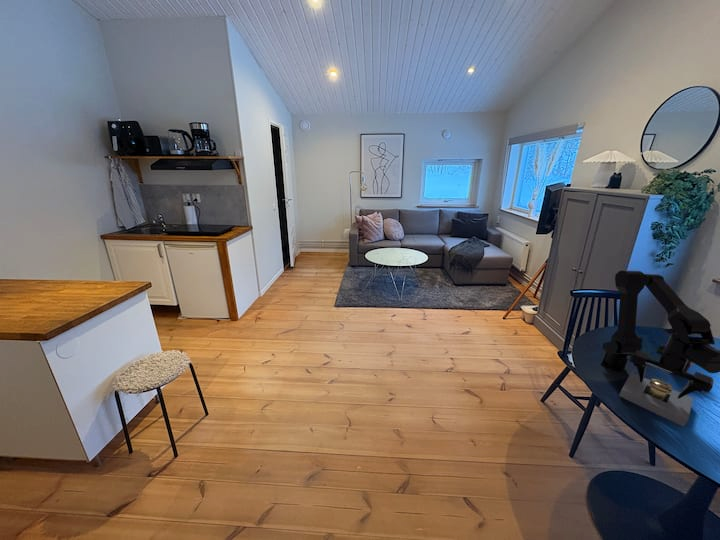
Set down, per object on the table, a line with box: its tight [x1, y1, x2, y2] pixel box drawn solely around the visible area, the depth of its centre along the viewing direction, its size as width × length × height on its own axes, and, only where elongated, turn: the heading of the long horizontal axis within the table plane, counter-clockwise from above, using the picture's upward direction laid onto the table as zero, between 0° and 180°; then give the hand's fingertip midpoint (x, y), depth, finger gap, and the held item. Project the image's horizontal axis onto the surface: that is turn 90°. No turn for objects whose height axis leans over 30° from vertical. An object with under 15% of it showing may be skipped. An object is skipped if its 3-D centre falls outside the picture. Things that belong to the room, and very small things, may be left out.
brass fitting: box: [647, 378, 674, 402], centre depth 99 cm, size 5×5×7 cm
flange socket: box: [618, 372, 694, 428], centre depth 100 cm, size 16×14×3 cm
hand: (659, 389), depth 98 cm, fingers open, 9 cm apart
